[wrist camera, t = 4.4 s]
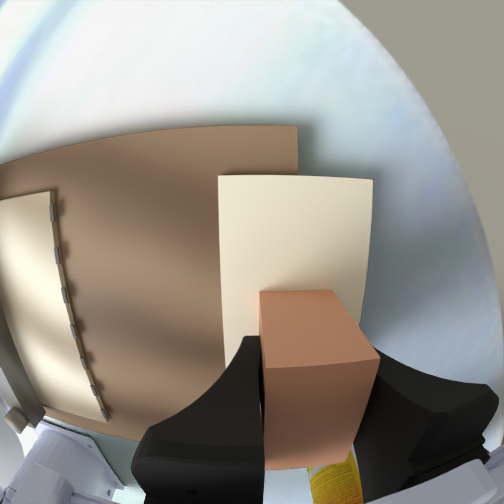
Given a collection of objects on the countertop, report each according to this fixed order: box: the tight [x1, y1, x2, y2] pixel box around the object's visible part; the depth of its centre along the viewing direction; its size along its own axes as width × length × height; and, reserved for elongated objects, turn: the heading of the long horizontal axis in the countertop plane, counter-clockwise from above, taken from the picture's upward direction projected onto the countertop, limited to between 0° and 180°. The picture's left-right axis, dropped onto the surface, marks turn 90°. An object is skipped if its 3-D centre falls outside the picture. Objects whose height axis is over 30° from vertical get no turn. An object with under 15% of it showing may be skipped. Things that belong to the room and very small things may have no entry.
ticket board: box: [0, 125, 298, 442], centre depth 11 cm, size 18×20×5 cm
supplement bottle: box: [307, 444, 363, 504], centre depth 12 cm, size 5×5×10 cm
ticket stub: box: [218, 175, 381, 470], centre depth 10 cm, size 14×6×5 cm, turn 0°
